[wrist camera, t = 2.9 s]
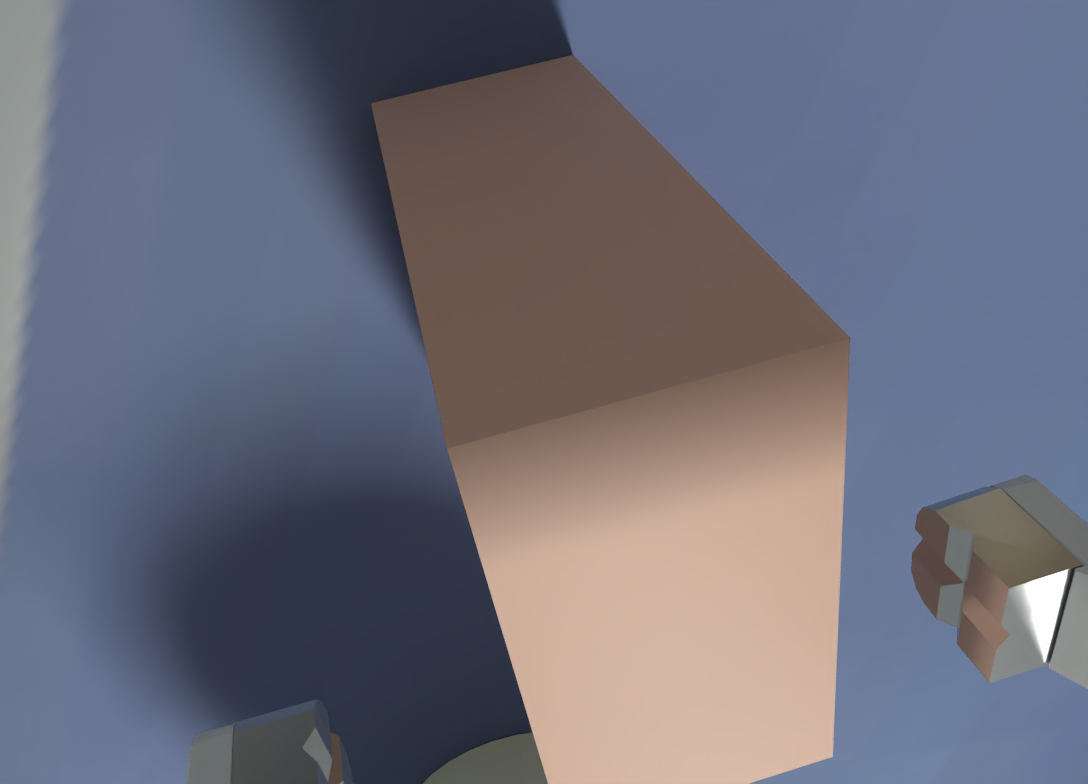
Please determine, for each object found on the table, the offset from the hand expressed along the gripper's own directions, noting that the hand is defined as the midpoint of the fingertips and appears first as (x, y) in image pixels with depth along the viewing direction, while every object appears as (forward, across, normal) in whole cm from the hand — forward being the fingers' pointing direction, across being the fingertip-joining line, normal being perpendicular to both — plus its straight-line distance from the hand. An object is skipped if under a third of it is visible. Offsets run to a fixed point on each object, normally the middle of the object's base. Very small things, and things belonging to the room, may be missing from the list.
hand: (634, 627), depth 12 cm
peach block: (+12, -1, 0) cm, 12 cm away
